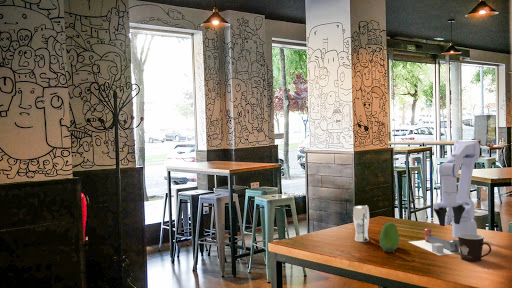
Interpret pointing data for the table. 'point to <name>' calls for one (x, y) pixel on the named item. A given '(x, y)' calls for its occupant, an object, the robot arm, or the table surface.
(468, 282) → the table surface
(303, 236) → the table surface
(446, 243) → the lever
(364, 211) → the beer glass
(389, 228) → the avocado
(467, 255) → the coffee mug
